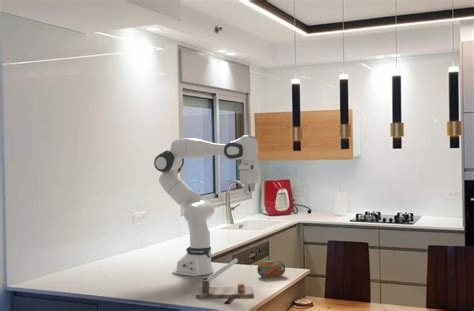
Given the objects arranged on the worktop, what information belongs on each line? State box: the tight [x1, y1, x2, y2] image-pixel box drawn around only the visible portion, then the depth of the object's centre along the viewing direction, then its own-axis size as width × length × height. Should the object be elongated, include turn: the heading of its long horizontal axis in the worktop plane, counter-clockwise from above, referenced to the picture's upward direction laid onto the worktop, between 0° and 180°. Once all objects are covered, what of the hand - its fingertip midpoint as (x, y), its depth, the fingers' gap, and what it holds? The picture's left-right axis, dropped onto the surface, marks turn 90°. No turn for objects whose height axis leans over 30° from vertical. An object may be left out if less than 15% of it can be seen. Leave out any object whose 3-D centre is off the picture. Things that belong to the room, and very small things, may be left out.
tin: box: [256, 260, 286, 279], centre depth 284 cm, size 15×3×8 cm, turn 105°
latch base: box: [196, 276, 254, 299], centre depth 251 cm, size 26×14×7 cm, turn 91°
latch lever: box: [206, 258, 239, 283], centre depth 251 cm, size 18×4×1 cm
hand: (249, 192), depth 284 cm, fingers open, 8 cm apart
